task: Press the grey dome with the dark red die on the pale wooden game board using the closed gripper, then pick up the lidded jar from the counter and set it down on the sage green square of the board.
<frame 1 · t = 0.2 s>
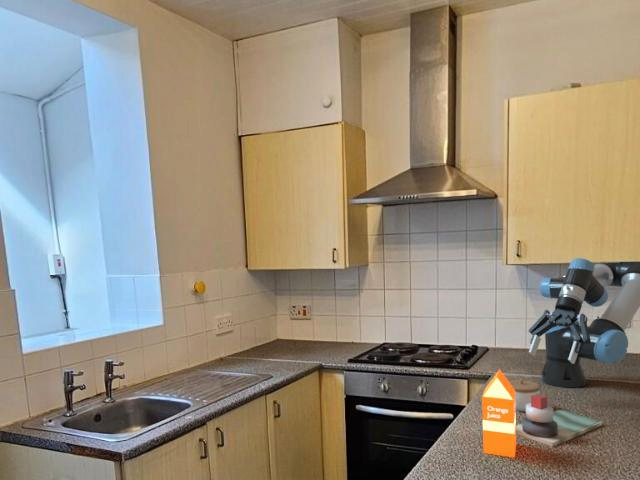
hand: (550, 357, 158), 16 cm above the worktop, tool tilted 35°, fingers open, 13 cm apart
dome: (539, 407, 137), point 8 cm above the worktop, slide at 0.0 cm
lidded jar: (522, 408, 158), on the worktop
orange juice: (500, 449, 129), on the worktop
game board: (556, 428, 141), on the worktop
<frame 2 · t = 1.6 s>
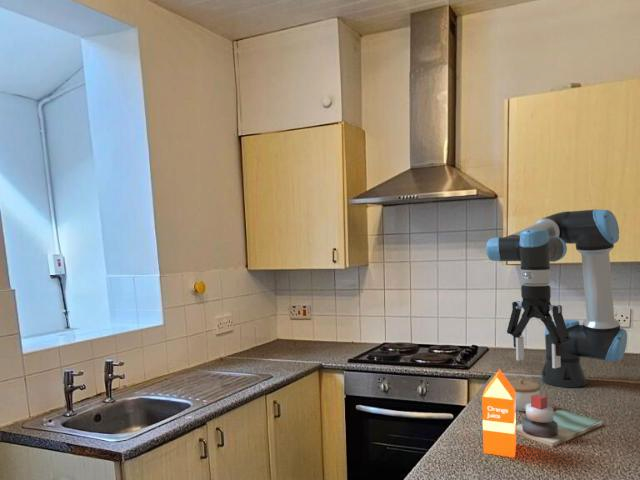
hand: (537, 363, 137), 20 cm above the worktop, tool pointing down, fingers open, 10 cm apart
nothing on the worktop moved.
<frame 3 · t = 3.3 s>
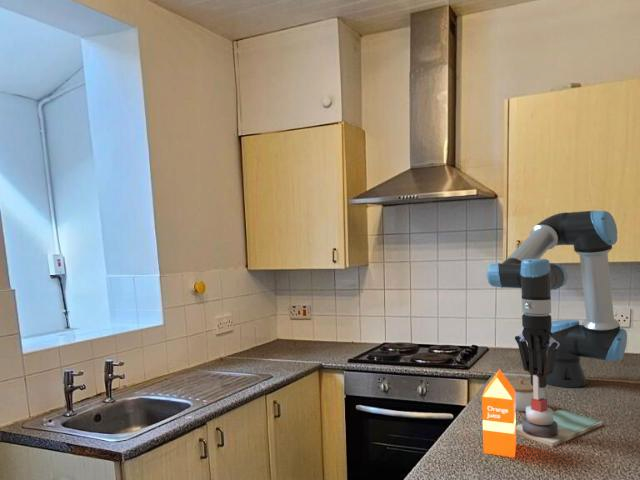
hand: (538, 398, 137), 10 cm above the worktop, tool pointing down, fingers closed
dome: (539, 409, 137), point 7 cm above the worktop, slide at 0.7 cm, touching gripper
everything else where it was.
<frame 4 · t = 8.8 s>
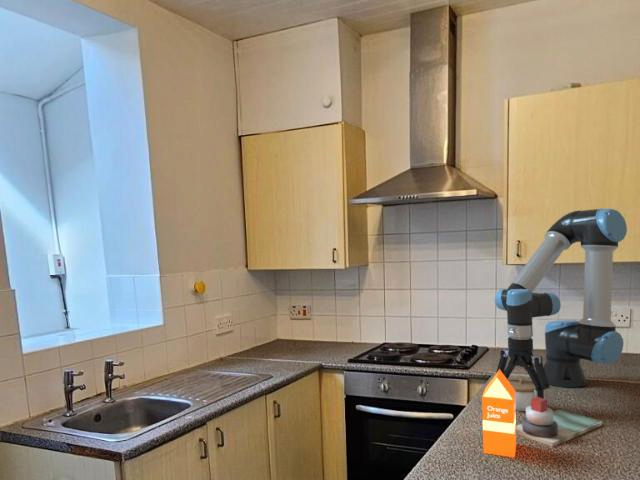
hand: (522, 405, 158), 1 cm above the worktop, tool pointing down, fingers closed on lidded jar, 11 cm apart
dome: (539, 409, 137), point 7 cm above the worktop, slide at 0.8 cm
lidded jar: (522, 408, 158), on the worktop, touching gripper
everything else where it was.
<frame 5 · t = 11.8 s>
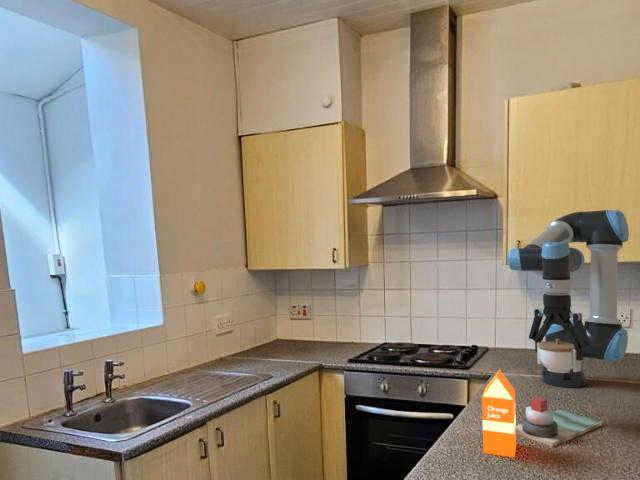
hand: (558, 367, 146), 16 cm above the worktop, tool pointing down, fingers closed on lidded jar, 11 cm apart
lidded jar: (558, 371, 146), point 15 cm above the worktop, touching gripper
everything else where it was.
when the fingers open (3 cm above the worktop, at t = 15.0 s): lidded jar drops 1 cm, resting on game board.
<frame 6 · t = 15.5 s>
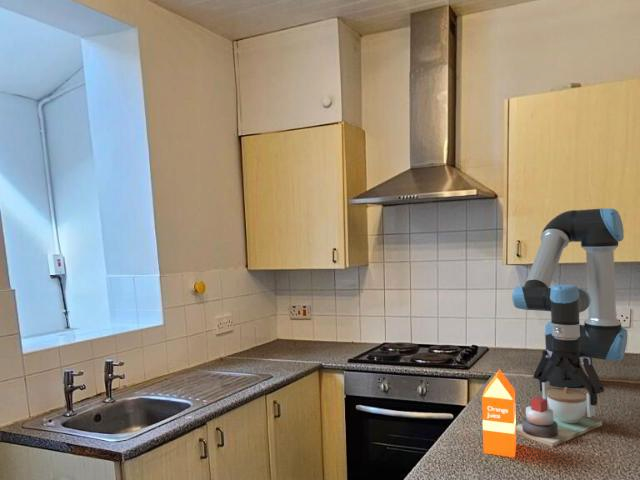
hand: (567, 409, 144), 4 cm above the worktop, tool pointing down, fingers open, 13 cm apart
lidded jar: (567, 420, 145), point 1 cm above the worktop, touching game board
everything else where it was.
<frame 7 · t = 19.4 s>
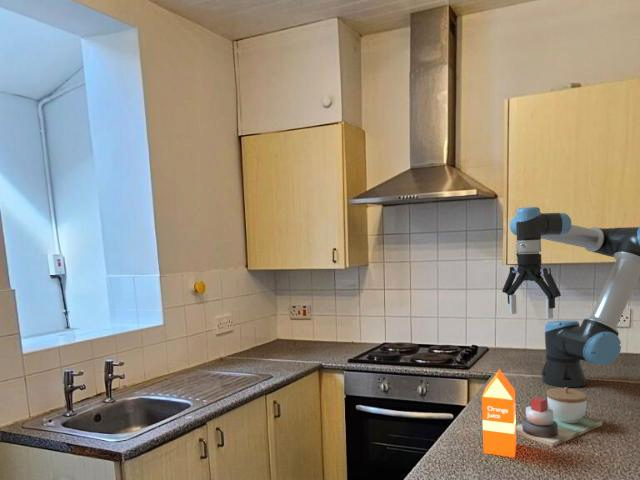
hand: (530, 316, 165), 29 cm above the worktop, tool pointing down, fingers open, 13 cm apart
nothing on the worktop moved.
at the end: dome slide at 0.8 cm; lidded jar inside the target area (0.3 cm from its centre), point 1.0 cm above the worktop; lidded jar tilted 0° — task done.
